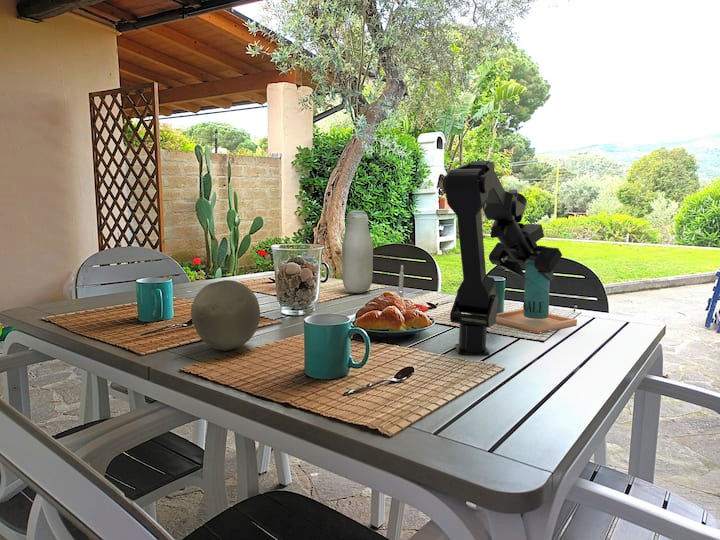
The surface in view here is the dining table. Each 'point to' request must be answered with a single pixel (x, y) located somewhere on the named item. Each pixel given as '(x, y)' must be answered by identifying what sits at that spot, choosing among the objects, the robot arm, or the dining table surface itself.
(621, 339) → the dining table surface
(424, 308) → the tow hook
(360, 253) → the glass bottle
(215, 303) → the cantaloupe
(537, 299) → the beverage bottle
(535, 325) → the tray
